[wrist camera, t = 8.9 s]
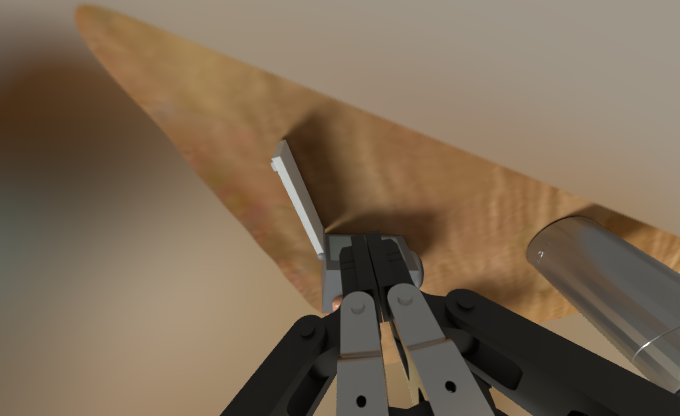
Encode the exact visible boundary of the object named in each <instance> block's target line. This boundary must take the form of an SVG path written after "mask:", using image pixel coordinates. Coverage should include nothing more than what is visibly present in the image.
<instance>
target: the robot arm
mask: <svg viewBox="0 0 680 416" xmlns="http://www.w3.org/2000/svg"><path fill="white" fill-rule="evenodd" d="M350 237H351V243H352V246H348V247H342V249H341V251H340V254H339V262H340V272H341V283H342V293H343V298H342V302H341V304H340V306H339V307H338V308H337V310H335V311H334V312H333V313H331V314H329V315H327V316H325V317H324V318H322V319H321V318H320V317H318V316H316V315H307V316H304V317H301V318H300V319H299V320H297V321H296V322H295V323H294V325H293V326H292V327H291V328H290V330H289V331H288V332H287V333H286V335H285V336H284V337H283V338H282V339H281V341H280V342H279V343H278V344H277V346H276V347H275V348H274V349H273V351H272V352H271V353H270V354H269V356H268V357H267V358H266V359H265V360H264V362H263V363H262V364H261V365H260V367H259V368H258V369H257V370H256V372H255V373H254V374H253V375H252V376H251V378H250V379H249V380H248V382H247V383H246V384H245V385H244V387H243V388H242V389H241V390H240V391H239V393H238V394H237V395H236V396H235V397H234V399H233V400H232V401H231V402H230V404H229V405H228V406H227V407H226V409H225V410H224V411H223V412H222V414H221V415H220V416H313V414H314V412H315V410H316V409H317V407H318V405H319V404H320V402H321V400H322V398H323V397H324V395H325V393H326V392H327V390H328V388H329V386H330V385H331V383H332V381H333V379H334V378H335V376H336V374H337V406H336V407H337V408H336V413H337V414H336V416H508V415H507V414H505V413H504V412H502V411H500V410H499V409H497V408H495V407H493V406H491V405H489V404H488V402H487V401H486V399H485V397H484V395H483V393H482V392H481V390H480V388H479V386H478V384H477V383H476V381H475V379H474V377H473V375H472V374H471V372H470V370H471V371H472V372H474V373H475V374H476V375H478V376H479V377H481V378H482V379H483V380H485V381H486V382H487V383H489V384H490V385H492V386H493V387H494V388H496V389H497V390H498V391H500V392H501V393H503V394H504V395H505V396H507V397H508V398H509V399H511V400H512V401H514V402H515V403H516V404H518V405H519V406H521V407H522V408H523V409H525V410H526V411H527V412H529V413H530V414H531V415H533V416H680V274H679V273H678V272H676V271H674V270H673V269H671V268H670V267H668V266H666V265H665V264H663V263H661V262H660V261H658V260H656V259H655V258H653V257H651V256H650V255H648V254H647V253H645V252H643V251H642V250H640V249H638V248H637V247H635V246H633V245H632V244H630V243H628V242H627V241H625V240H624V239H622V238H621V237H619V236H617V235H616V234H614V233H612V232H611V231H609V230H607V229H606V228H604V227H602V226H601V225H599V224H597V223H596V222H594V221H592V220H591V219H589V218H586V217H580V216H576V217H569V218H566V219H562V220H560V221H558V222H555V223H553V224H552V225H550V226H548V227H547V228H545V229H544V230H543V231H541V232H540V233H539V234H538V235H537V236H536V237H535V238H534V239H533V241H532V242H531V243H530V245H529V247H528V250H527V259H528V261H529V262H530V263H531V264H532V265H533V266H534V267H535V268H536V269H537V270H538V271H539V272H540V273H541V274H542V275H543V276H544V277H545V278H546V279H547V280H548V281H549V282H550V284H551V285H552V286H553V287H554V288H555V289H557V290H558V291H559V292H560V293H561V294H562V295H563V296H564V297H565V298H566V299H567V300H568V301H569V302H570V303H571V304H572V305H573V306H574V307H575V308H576V309H577V310H578V311H579V312H580V313H581V314H582V315H583V316H584V317H585V318H586V319H587V320H588V321H589V322H590V323H591V324H592V325H593V326H594V327H595V328H596V329H597V330H598V331H599V332H600V333H601V334H602V335H603V336H604V337H605V338H606V339H607V340H608V341H609V342H610V343H611V344H612V345H613V346H614V347H615V348H616V349H617V350H619V352H620V353H621V354H623V356H625V357H626V358H627V359H628V360H629V361H630V362H631V363H632V364H633V365H634V366H635V367H636V368H637V369H638V370H639V371H640V372H641V373H642V374H643V375H644V376H645V377H646V378H647V379H648V380H649V381H648V380H646V379H644V378H642V377H640V376H638V375H636V374H634V373H632V372H630V371H628V370H626V369H624V368H622V367H620V366H618V365H617V364H615V363H613V362H611V361H609V360H607V359H605V358H602V357H601V356H598V355H597V354H595V353H593V352H591V351H589V350H587V349H585V348H583V347H581V346H579V345H577V344H575V343H573V342H571V341H569V340H567V339H565V338H563V337H561V336H559V335H557V334H556V333H553V332H552V331H549V330H548V329H546V328H544V327H542V326H540V325H538V324H536V323H534V322H532V321H530V320H528V319H526V318H524V317H522V316H520V315H518V314H516V313H514V312H512V311H510V310H508V309H506V308H504V307H502V306H500V305H498V304H496V303H495V302H493V301H491V300H489V299H487V298H485V297H483V296H481V295H479V294H477V293H475V292H473V291H470V290H467V289H456V290H453V291H451V292H449V293H448V295H447V296H446V297H445V296H435V295H430V294H426V293H424V292H422V291H421V290H419V289H418V288H417V287H416V286H415V284H414V282H413V280H412V278H411V275H410V273H409V271H408V268H407V266H406V263H405V261H404V259H403V256H402V254H401V251H400V249H399V247H398V244H397V243H396V242H394V241H393V240H392V239H391V238H390V239H385V240H382V239H381V236H380V233H379V231H374V232H368V233H365V236H364V233H363V234H358V235H353V236H350ZM365 238H366V240H365ZM380 307H381V308H380ZM381 311H382V314H381ZM382 315H383V319H384V322H387V321H389V323H390V326H391V330H392V338H393V341H394V344H395V347H396V350H397V353H398V356H399V359H400V362H401V364H402V368H403V370H404V373H405V376H406V379H407V382H408V386H409V389H410V393H411V398H412V401H413V405H414V406H413V407H411V408H409V409H402V408H395V407H390V403H389V396H388V389H387V382H386V375H385V368H384V360H383V353H382V346H381V330H380V324H379V323H382V322H383V321H382ZM469 369H470V370H469Z"/></svg>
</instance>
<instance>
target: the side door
mask: <svg viewBox="0 0 680 416" xmlns="http://www.w3.org/2000/svg"><path fill="white" fill-rule="evenodd" d="M271 165H272V167H273V169H274V171H278V173H279V175H280V177H281V179H282V181H283V183H284V186H285V188H286V190H287V192H288V194H289V196H290V198H291V200H292V202H293V204H294V206H295V209H296V211H297V213H298V215H299V217H300V219H301V221H302V223H303V225H304V227H305V229H306V232H307V234H308V236H309V238H310V240H311V242H312V244H313V246H314V248H315V250H316V252H317V254H318V259H320V260H324V259H325V258H326V244H325V228H324V227H323V226H322V224H321V222H320V219H319V217H318V215H317V212H316V210H315V207H314V205H313V203H312V200H311V198H310V196H309V193H308V191H307V189H306V186H305V184H304V182H303V179H302V177H301V175H300V172H299V170H298V168H297V165H296V163H295V160H294V158H293V156H292V153H291V151H290V149H289V146H288V144H287V142H286V140H283V141H280V142H278V145H277V147H276V150H275V152H274V155H273V157H272V161H271Z"/></svg>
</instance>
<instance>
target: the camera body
mask: <svg viewBox="0 0 680 416" xmlns="http://www.w3.org/2000/svg"><path fill="white" fill-rule="evenodd" d="M350 236H353V235H349V234H325V244H326V258H325V259H324V260H322V272H321V279H322V313H332V312H334V311H335V310H337V308H338V307H339V306H340V304H341V302H342V298H343V293H342V283H341V272H340V262H339V254H340V251H341V249H342V247H348V246H352V243H351V237H350ZM364 236H365V235H364ZM380 236H381V239H382V240H385V239H390V238H391V239H392V240H393V241H394V242H396V243H397V244H398V247H399V249H400V251H401V254H402V256H403V259H404V261H405V263H406V266H407V268H408V271H409V273H410V275H411V278H412V280H413V282H414V284H415V286H416V287H417V288H418V289H419V288H420V287H421V285H422V283H423V278H424V270H423V264H422V261H421V259H420V258H419V256H417V254H416V253H415V252H414V251H410V250H409V248H408V246H407V244H406V242H405V240H404V238H403V236H389V235H380ZM365 240H366V238H365ZM380 308H381V307H380ZM381 312H382V311H381Z"/></svg>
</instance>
